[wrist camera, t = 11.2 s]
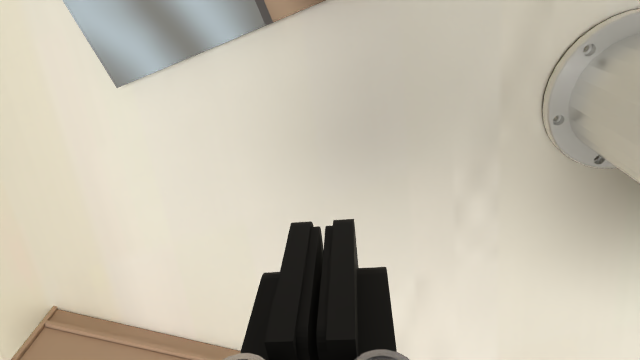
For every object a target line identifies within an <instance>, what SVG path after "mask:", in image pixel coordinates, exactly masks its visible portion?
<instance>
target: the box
mask: <svg viewBox="0 0 640 360" xmlns="http://www.w3.org/2000/svg"><path fill="white" fill-rule="evenodd" d="M239 353H241V351H237V350H232V349H228V348H224V347H219V346H215V345H210V344H206V343H202V342H197V341H193V340H189V339H184V338H180V337H176V336H171V335H167V334H163V333H158V332H154V331H149V330H145V329H141V328H136V327H132V326H128V325H123V324H119V323H115V322H110V321H106V320H102V319H97V318H93V317H88V316H84V315H80V314H75V313H71V312H67V311H62V310H58V309H57V307H56V306H53V307H52V308H51V310H50V311H49V312H48V314H47V315H46V316H45V317H44V319H43V320H42V321H41V322H40V324H39V325H38V326H37V327H36V329H35V330H34V331H33V332H32V334H31V335H30V336H29V337H28V339H27V340H26V341H25V342H24V344H23V345H22V346H21V348H20V349H19V350H18V351H17V353H16V354H15V355H14V356H13V358H12V359H11V360H223V359H225V358H227V357H228V356H232V355H235V354H239Z"/></svg>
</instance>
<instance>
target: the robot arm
mask: <svg viewBox="0 0 640 360" xmlns="http://www.w3.org/2000/svg"><path fill="white" fill-rule="evenodd" d="M585 47H586V49H585V50H584V48H585ZM543 120H544V125H545V128H546V131H547V134H548V136H549V138H550V139H551V141H552V142H553V144H554V145H555V146H556V147H557V148H558V149H559V150H560V151H561V152H562V153H563V154H565V155H566V156H568V157H569V158H570V159H572V160H573V161H575V162H578V163H580V164H582V165H585V166H589V167H594V168H618V169H620V170H621V171H623V172H624V173H625V174H627V175H628V176H630V177H631V178H632V179H634V180H635V181H637V182H638V183H639V184H640V9H636V10H630V11H627V12H624V13H622V14H619V15H616V16H613V17H611V18H609V19H607V20H606V21H604V22H602V23H600V24H598V25H597V26H595V27H594V28H592V29H591V30H590V31H588V32H587V33H586V34H584V35H583V36H582V37H580V38H579V39H578V40H577V41H576V42H575V43H574V44H573V45H572V46H571V48H570V49H569V50H568V51H567V52H566V53H565V55H564V56H563V57H562V59H561V60H560V61H559V63H558V64H557V66H556V67H555V69H554V71H553V73H552V75H551V77H550V79H549V82H548V85H547V88H546V91H545V94H544V101H543ZM223 360H409V359H408V358H407V357H405V356H403V355H402V354H400V353H398V352H397V351H396V343H395V335H394V326H393V318H392V310H391V302H390V293H389V285H388V277H387V269H386V267H376V268H358V259H357V247H356V236H355V225H354V219H347V220H334V221H333V226H326V229H325V240H324V250H323V243H322V235H321V229H320V227H313V223H312V222H298V223H291V226H290V230H289V234H288V239H287V243H286V248H285V252H284V257H283V261H282V266H281V270H280V272H272V273H264V274H263V275H262V278H261V281H260V285H259V288H258V292H257V295H256V299H255V302H254V306H253V310H252V313H251V317H250V320H249V324H248V327H247V331H246V335H245V338H244V342H243V345H242V349H241V353H239V354H235V355H232V356H228V357H227V358H225V359H223Z"/></svg>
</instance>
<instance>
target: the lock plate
mask: <svg viewBox="0 0 640 360" xmlns="http://www.w3.org/2000/svg"><path fill="white" fill-rule="evenodd" d="M323 1H325V0H63V2H64V3H65V5H66V7H67V8H68V10H69V11H70V13H71V15H72V16H73V18H74V20H75V21H76V23H77V24H78V26H79V28H80V29H81V31H82V32H83V34H84V36H85V37H86V39H87V40H88V42H89V44H90V45H91V47H92V49H93V50H94V52H95V53H96V55H97V57H98V58H99V60H100V61H101V63H102V65H103V66H104V68H105V70H106V71H107V73H108V74H109V76H110V78H111V79H112V81H113V82H114V84H115V86H116V87H117V88H118V87H121V86H123V85H125V84H128V83H130V82H133V81H135V80H137V79H140V78H142V77H144V76H147V75H149V74H152V73H154V72H156V71H159V70H161V69H163V68H166V67H168V66H171V65H173V64H175V63H178V62H180V61H182V60H185V59H187V58H190V57H192V56H194V55H197V54H199V53H201V52H204V51H206V50H209V49H211V48H213V47H216V46H218V45H221V44H223V43H225V42H228V41H230V40H232V39H235V38H237V37H240V36H242V35H244V34H247V33H249V32H251V31H254V30H256V29H259V28H261V27H263V26H266V25H268V24H270V23H273V22H275V21H278V20H280V19H282V18H285V17H287V16H289V15H292V14H294V13H297V12H299V11H301V10H304V9H306V8H308V7H311V6H313V5H316V4H318V3H320V2H323Z"/></svg>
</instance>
